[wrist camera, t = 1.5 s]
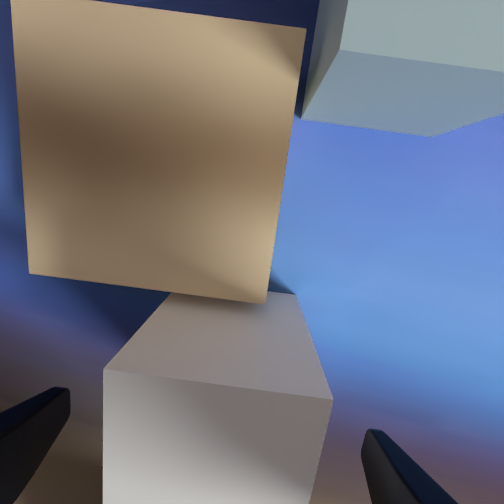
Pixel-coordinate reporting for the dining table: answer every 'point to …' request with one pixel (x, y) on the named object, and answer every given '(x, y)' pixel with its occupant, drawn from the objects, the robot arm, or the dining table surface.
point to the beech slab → (153, 144)
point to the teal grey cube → (406, 64)
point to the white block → (215, 405)
